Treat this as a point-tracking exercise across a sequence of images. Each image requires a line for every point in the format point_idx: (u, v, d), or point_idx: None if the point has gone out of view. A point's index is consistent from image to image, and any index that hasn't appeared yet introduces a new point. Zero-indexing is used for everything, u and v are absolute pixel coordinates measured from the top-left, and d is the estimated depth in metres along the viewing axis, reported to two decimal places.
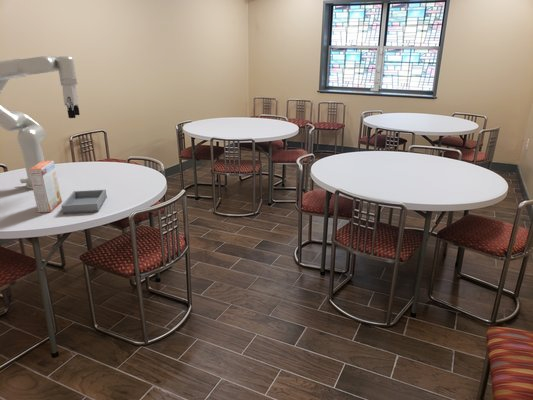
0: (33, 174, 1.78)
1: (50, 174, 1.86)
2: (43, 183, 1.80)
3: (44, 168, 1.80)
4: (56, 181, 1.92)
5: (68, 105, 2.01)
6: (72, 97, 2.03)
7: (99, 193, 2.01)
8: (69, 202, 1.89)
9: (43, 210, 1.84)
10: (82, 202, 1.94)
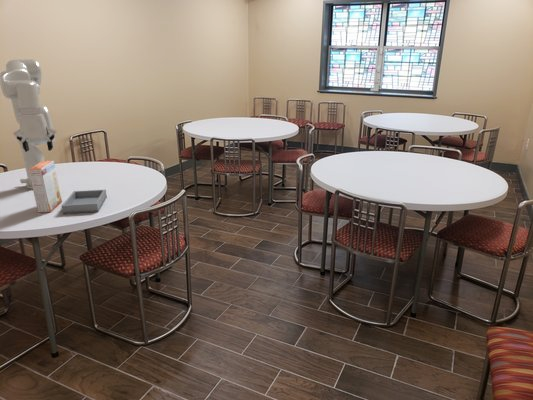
0: (33, 174, 1.78)
1: (50, 174, 1.86)
2: (43, 183, 1.80)
3: (44, 168, 1.80)
4: (56, 181, 1.92)
5: (55, 134, 1.80)
6: None
7: (99, 193, 2.01)
8: (69, 202, 1.89)
9: (43, 210, 1.84)
10: (82, 202, 1.94)
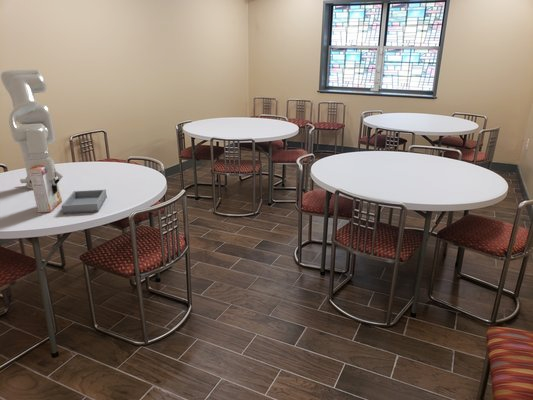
0: (33, 174, 1.78)
1: None
2: (43, 183, 1.80)
3: (44, 168, 1.80)
4: None
5: None
6: None
7: (99, 193, 2.01)
8: (69, 202, 1.89)
9: (43, 210, 1.84)
10: (82, 202, 1.94)
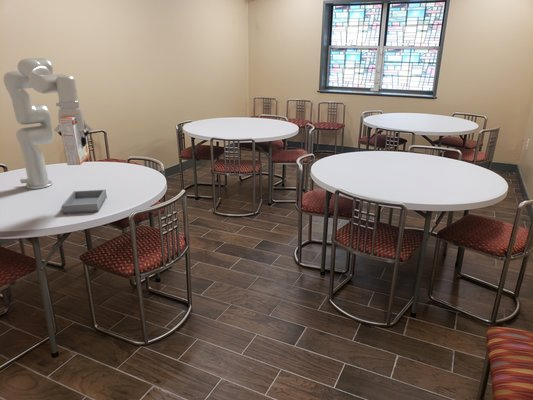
0: (64, 123, 1.73)
1: None
2: (73, 133, 1.74)
3: (74, 118, 1.75)
4: None
5: (89, 131, 1.82)
6: None
7: (99, 193, 2.01)
8: (69, 202, 1.89)
9: (72, 162, 1.79)
10: (82, 202, 1.94)
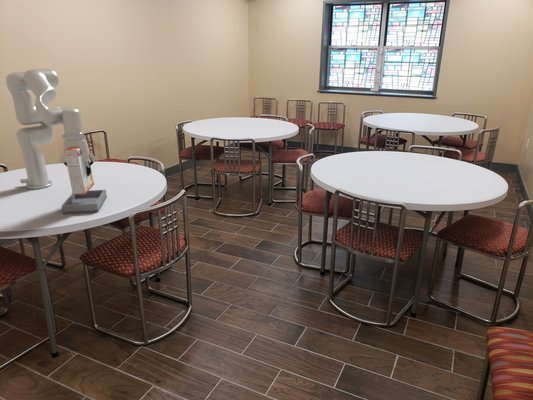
0: (69, 155, 1.77)
1: None
2: (78, 164, 1.79)
3: (79, 149, 1.80)
4: None
5: (94, 161, 1.87)
6: None
7: (99, 193, 2.01)
8: (69, 202, 1.89)
9: (78, 192, 1.84)
10: (82, 202, 1.94)
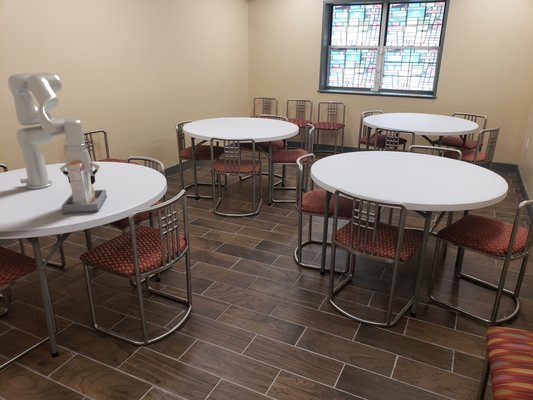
0: (72, 169, 1.80)
1: None
2: (81, 179, 1.82)
3: (82, 164, 1.83)
4: None
5: None
6: None
7: (99, 193, 2.01)
8: (69, 202, 1.89)
9: None
10: None
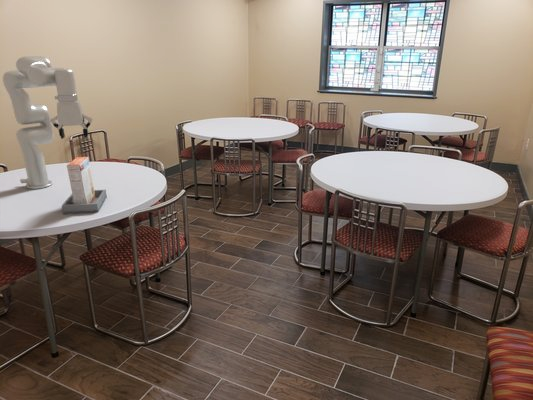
0: (72, 170, 1.80)
1: (86, 171, 1.88)
2: (81, 179, 1.82)
3: (82, 164, 1.82)
4: (91, 177, 1.94)
5: (90, 122, 1.82)
6: None
7: (99, 193, 2.01)
8: (69, 202, 1.89)
9: None
10: None
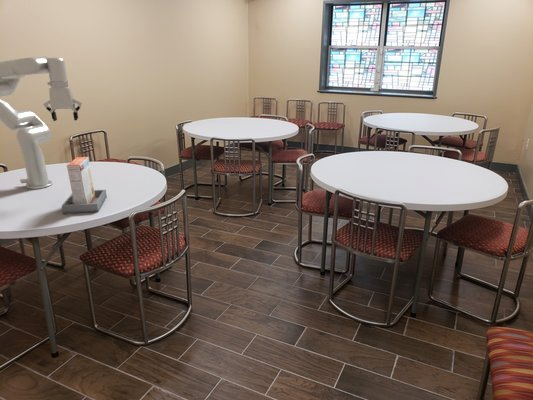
0: (72, 170, 1.80)
1: (86, 171, 1.88)
2: (81, 179, 1.82)
3: (82, 164, 1.82)
4: (91, 177, 1.94)
5: (80, 106, 2.01)
6: None
7: (99, 193, 2.01)
8: (69, 202, 1.89)
9: None
10: None
